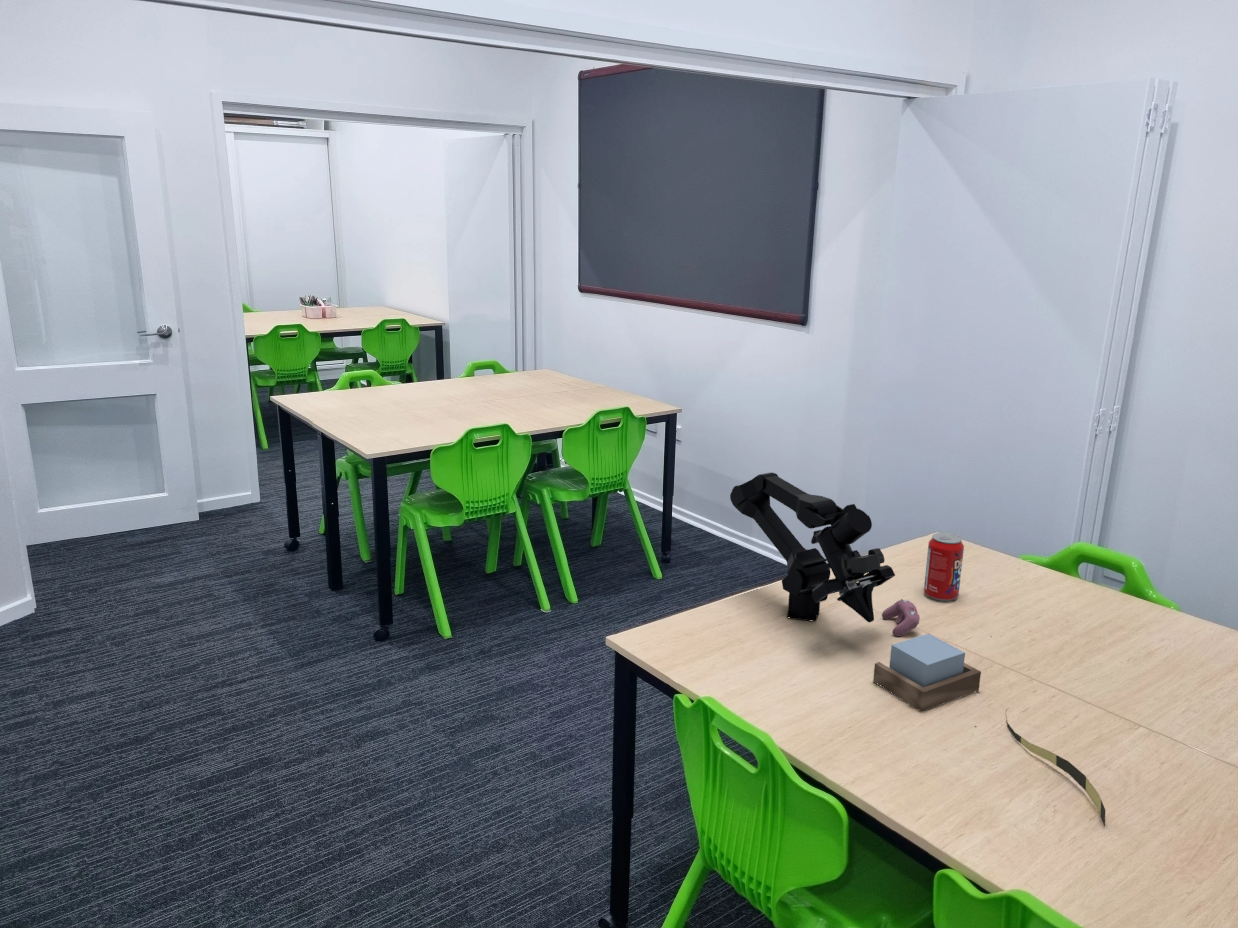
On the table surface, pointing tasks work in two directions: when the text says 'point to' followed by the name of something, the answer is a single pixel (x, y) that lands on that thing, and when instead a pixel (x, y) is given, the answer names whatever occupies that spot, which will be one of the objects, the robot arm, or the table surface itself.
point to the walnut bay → (931, 693)
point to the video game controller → (902, 616)
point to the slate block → (926, 660)
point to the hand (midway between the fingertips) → (871, 621)
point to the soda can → (943, 566)
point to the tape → (1068, 768)
